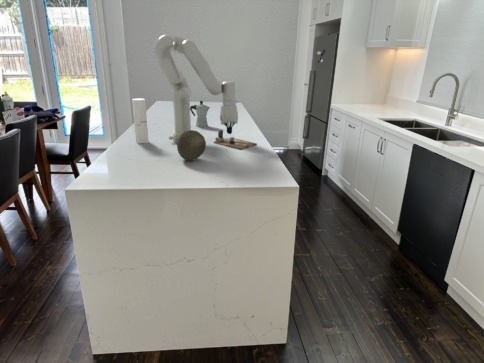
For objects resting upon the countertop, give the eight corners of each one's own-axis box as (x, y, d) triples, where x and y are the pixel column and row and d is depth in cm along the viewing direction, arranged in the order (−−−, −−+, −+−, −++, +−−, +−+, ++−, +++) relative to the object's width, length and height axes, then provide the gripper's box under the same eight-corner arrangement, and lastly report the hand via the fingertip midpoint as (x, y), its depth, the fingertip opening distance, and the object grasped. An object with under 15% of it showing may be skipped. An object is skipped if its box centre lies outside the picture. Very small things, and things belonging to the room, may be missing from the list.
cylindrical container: (149, 142, 201) (145, 100, 192) (136, 143, 198) (132, 100, 189) (147, 140, 207) (144, 98, 198) (135, 140, 204) (131, 98, 195)
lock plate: (240, 149, 191) (240, 144, 190) (213, 142, 204) (213, 137, 202) (256, 144, 202) (256, 139, 201) (230, 138, 214) (230, 133, 213)
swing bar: (235, 142, 201) (235, 132, 199) (232, 143, 199) (232, 133, 197) (220, 139, 207) (220, 129, 205) (217, 140, 205) (217, 130, 203)
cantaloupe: (179, 165, 164) (177, 135, 159) (176, 156, 177) (175, 128, 172) (208, 163, 168) (207, 133, 163) (203, 155, 181) (202, 127, 175)
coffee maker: (211, 125, 249) (211, 100, 243) (209, 127, 241) (209, 102, 234) (191, 124, 250) (190, 99, 244) (188, 127, 242) (187, 101, 236)
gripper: (238, 101, 206) (238, 131, 213) (214, 102, 200) (215, 133, 207) (243, 103, 200) (243, 133, 207) (219, 104, 194) (220, 136, 201)
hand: (229, 133), depth 207 cm, fingers closed
